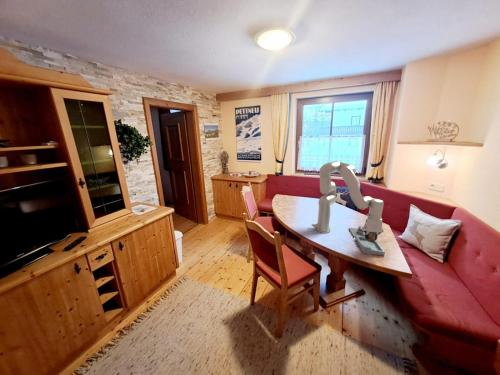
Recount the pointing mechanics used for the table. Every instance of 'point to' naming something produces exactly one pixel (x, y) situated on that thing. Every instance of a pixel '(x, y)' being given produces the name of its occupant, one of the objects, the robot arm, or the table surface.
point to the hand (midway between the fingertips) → (370, 238)
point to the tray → (369, 246)
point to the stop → (371, 236)
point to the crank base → (356, 232)
